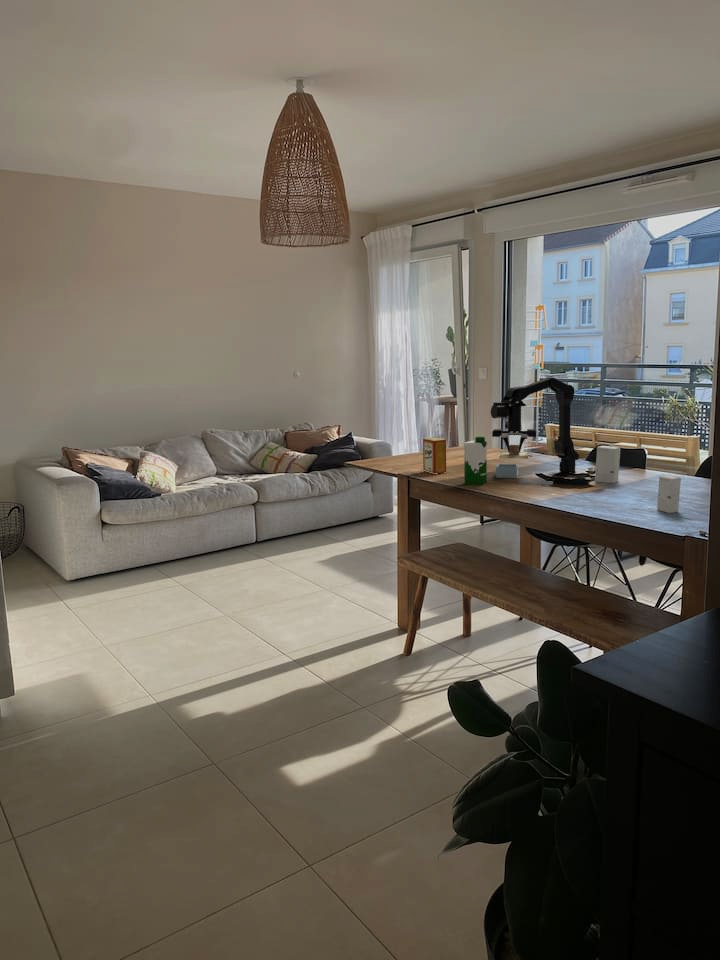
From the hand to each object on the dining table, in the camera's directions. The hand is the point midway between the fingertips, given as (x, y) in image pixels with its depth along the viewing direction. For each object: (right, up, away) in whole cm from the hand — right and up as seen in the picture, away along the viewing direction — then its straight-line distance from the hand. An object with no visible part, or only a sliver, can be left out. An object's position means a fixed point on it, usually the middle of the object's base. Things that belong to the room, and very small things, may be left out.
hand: (514, 452), depth 329 cm
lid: (0, -2, 0) cm, 2 cm away
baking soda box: (-33, -9, +22) cm, 40 cm away
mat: (+8, -13, -8) cm, 17 cm away
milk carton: (-18, -14, -7) cm, 24 cm away
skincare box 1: (+37, -13, -12) cm, 41 cm away
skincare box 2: (+40, -23, -67) cm, 81 cm away
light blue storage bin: (-2, -11, +6) cm, 12 cm away
